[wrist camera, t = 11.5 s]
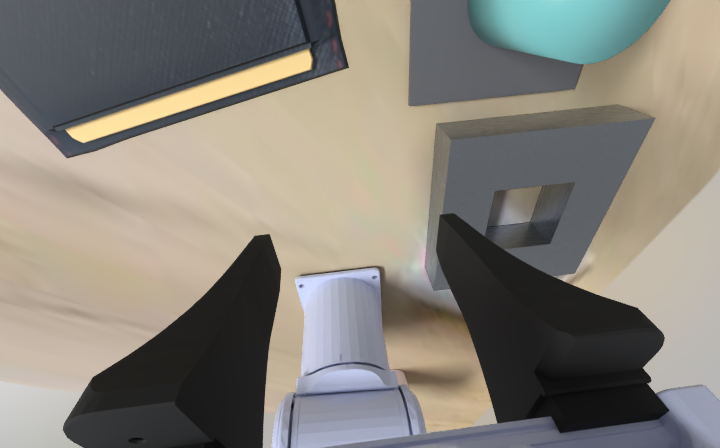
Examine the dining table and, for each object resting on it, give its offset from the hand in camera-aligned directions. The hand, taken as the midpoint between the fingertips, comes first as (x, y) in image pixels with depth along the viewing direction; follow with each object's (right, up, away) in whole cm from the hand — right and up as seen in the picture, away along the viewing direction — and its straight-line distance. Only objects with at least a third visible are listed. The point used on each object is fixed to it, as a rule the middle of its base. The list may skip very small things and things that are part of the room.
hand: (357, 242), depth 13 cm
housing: (+12, +3, +12) cm, 18 cm away
